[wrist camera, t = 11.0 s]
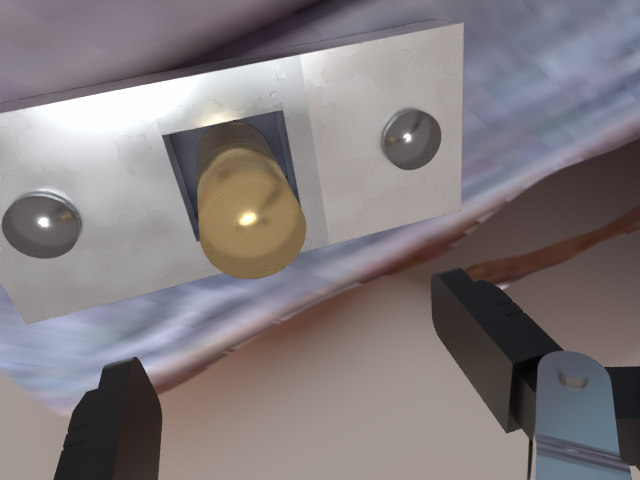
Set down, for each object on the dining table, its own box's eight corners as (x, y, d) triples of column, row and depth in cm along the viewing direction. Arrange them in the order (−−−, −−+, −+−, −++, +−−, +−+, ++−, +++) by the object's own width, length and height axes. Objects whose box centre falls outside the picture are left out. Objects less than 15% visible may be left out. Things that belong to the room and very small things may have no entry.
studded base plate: (434, 19, 24) (470, 23, 21) (436, 191, 29) (466, 214, 26) (-59, 114, 20) (-102, 135, 17) (42, 291, 25) (23, 332, 22)
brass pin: (262, 114, 24) (297, 172, 16) (276, 183, 26) (313, 264, 18) (186, 129, 23) (185, 198, 16) (207, 199, 25) (215, 289, 18)
